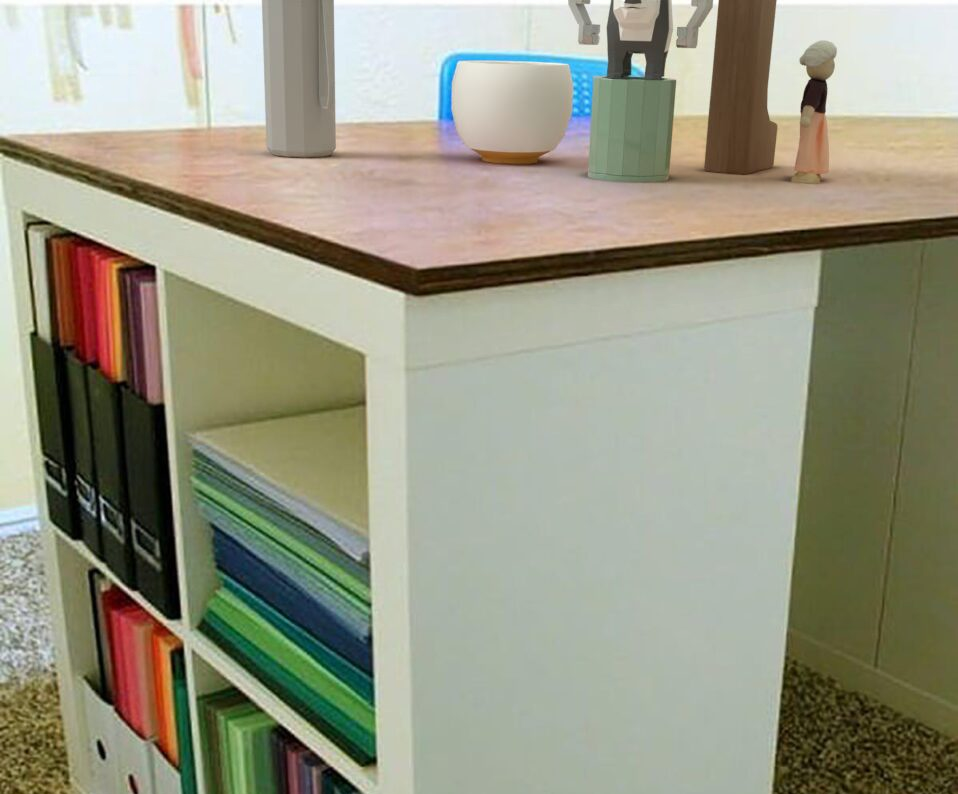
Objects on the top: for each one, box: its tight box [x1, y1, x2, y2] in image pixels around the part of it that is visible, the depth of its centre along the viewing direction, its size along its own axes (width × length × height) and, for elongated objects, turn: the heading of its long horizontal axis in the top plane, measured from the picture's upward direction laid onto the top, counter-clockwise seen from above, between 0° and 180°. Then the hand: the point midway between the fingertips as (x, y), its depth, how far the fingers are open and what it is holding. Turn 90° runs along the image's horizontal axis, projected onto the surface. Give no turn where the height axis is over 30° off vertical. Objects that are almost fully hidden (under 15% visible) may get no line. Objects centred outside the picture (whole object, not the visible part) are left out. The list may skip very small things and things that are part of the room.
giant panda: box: [606, 0, 674, 80], centre depth 117 cm, size 15×6×10 cm, turn 169°
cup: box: [450, 60, 574, 165], centre depth 132 cm, size 12×12×10 cm
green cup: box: [587, 75, 677, 183], centre depth 121 cm, size 8×8×9 cm
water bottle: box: [261, 0, 337, 159], centre depth 129 cm, size 9×8×25 cm
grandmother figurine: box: [790, 39, 838, 185], centre depth 122 cm, size 8×4×13 cm, turn 171°
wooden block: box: [703, 0, 779, 176], centre depth 128 cm, size 9×4×18 cm, turn 150°
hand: (636, 46), depth 118 cm, fingers open, 8 cm apart
